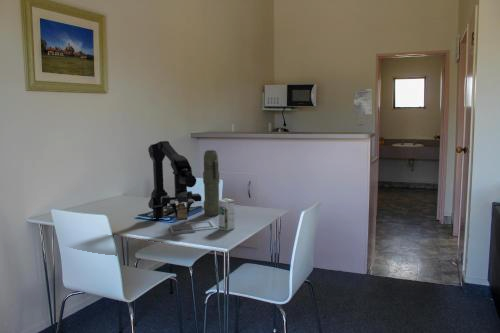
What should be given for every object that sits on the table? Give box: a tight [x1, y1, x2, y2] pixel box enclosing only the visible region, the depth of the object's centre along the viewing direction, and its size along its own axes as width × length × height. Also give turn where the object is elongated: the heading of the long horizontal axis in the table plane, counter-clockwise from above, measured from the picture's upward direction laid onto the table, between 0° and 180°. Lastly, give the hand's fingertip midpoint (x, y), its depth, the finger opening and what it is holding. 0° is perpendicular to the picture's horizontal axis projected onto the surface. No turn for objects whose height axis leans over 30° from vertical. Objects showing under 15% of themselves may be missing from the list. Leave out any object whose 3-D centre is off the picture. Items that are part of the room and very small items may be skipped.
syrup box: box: [218, 198, 236, 232], centre depth 214 cm, size 6×6×14 cm
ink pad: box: [168, 223, 196, 235], centre depth 214 cm, size 11×11×2 cm
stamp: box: [175, 202, 189, 221], centre depth 213 cm, size 5×5×8 cm
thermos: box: [202, 149, 221, 217], centre depth 241 cm, size 9×12×35 cm
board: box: [184, 219, 219, 232], centre depth 221 cm, size 14×14×1 cm
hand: (181, 216), depth 213 cm, fingers closed on stamp, 4 cm apart
